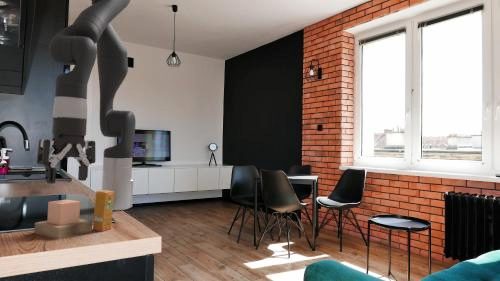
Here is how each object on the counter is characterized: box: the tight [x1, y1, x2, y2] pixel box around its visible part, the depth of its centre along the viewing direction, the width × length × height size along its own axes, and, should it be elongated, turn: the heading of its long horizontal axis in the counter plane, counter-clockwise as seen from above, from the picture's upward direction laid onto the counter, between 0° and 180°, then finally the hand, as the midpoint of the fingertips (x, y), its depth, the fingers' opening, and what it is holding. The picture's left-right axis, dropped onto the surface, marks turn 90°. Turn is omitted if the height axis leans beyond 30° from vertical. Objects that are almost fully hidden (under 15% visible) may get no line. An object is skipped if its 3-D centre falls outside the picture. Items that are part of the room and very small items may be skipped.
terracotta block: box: [46, 199, 81, 225], centre depth 87 cm, size 5×5×5 cm
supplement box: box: [92, 190, 114, 232], centre depth 91 cm, size 3×3×10 cm
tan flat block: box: [34, 218, 93, 240], centre depth 87 cm, size 9×9×3 cm
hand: (67, 181), depth 87 cm, fingers open, 8 cm apart
